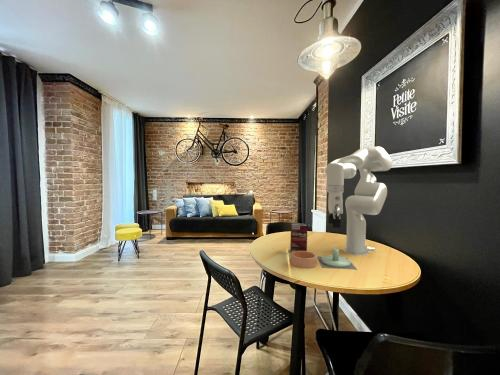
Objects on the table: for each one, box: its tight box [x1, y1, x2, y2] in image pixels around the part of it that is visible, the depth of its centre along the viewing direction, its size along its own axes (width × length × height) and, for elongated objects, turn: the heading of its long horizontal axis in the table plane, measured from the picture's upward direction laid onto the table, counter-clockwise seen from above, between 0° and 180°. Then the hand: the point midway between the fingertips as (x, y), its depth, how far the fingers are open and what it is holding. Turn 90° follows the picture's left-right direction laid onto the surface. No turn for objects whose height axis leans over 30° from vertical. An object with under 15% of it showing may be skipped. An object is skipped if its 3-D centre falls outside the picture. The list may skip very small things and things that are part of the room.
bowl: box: [290, 250, 319, 269], centre depth 108 cm, size 12×12×5 cm
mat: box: [317, 255, 358, 271], centre depth 109 cm, size 15×15×1 cm
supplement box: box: [289, 223, 308, 253], centre depth 125 cm, size 9×5×16 cm, turn 83°
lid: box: [321, 248, 351, 268], centre depth 109 cm, size 13×13×6 cm
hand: (334, 225), depth 109 cm, fingers open, 9 cm apart
